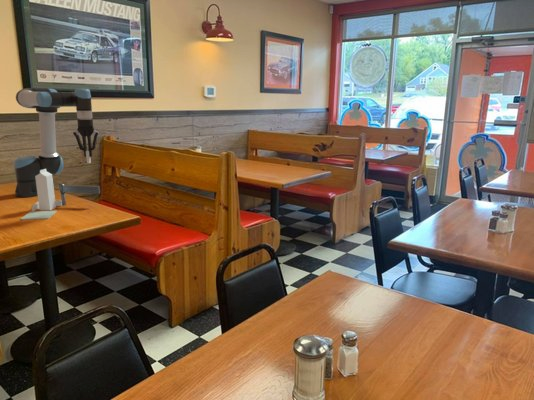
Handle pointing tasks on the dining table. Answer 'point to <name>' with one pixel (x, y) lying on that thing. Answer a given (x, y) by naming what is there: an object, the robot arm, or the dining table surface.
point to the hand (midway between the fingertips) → (88, 162)
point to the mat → (38, 215)
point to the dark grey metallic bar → (79, 189)
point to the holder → (58, 203)
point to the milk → (45, 190)
